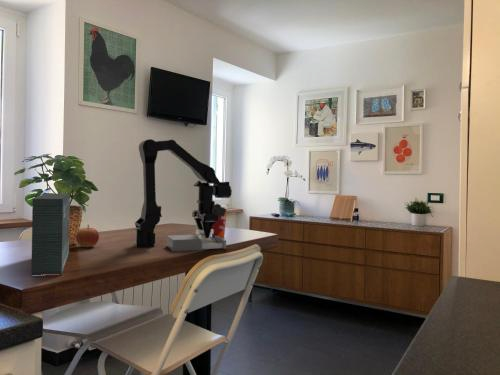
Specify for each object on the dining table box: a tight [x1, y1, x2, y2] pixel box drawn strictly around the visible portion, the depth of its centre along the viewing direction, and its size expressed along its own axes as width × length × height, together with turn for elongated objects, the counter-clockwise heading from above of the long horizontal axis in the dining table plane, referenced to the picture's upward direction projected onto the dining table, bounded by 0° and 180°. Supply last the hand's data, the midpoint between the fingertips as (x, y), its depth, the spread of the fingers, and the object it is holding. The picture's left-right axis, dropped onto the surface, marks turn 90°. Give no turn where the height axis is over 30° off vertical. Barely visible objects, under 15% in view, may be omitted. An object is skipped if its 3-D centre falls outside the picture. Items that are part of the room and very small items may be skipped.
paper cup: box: [211, 204, 228, 239], centre depth 179 cm, size 8×8×14 cm
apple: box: [74, 224, 100, 248], centre depth 146 cm, size 8×8×8 cm
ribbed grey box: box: [30, 192, 71, 275], centre depth 117 cm, size 29×7×20 cm, turn 21°
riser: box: [198, 235, 212, 240], centre depth 163 cm, size 4×4×4 cm
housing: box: [166, 234, 203, 252], centre depth 149 cm, size 10×11×4 cm
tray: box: [202, 236, 227, 250], centre depth 153 cm, size 11×11×3 cm
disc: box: [195, 228, 214, 236], centre depth 163 cm, size 7×7×2 cm
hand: (204, 236), depth 163 cm, fingers closed on disc, 7 cm apart
